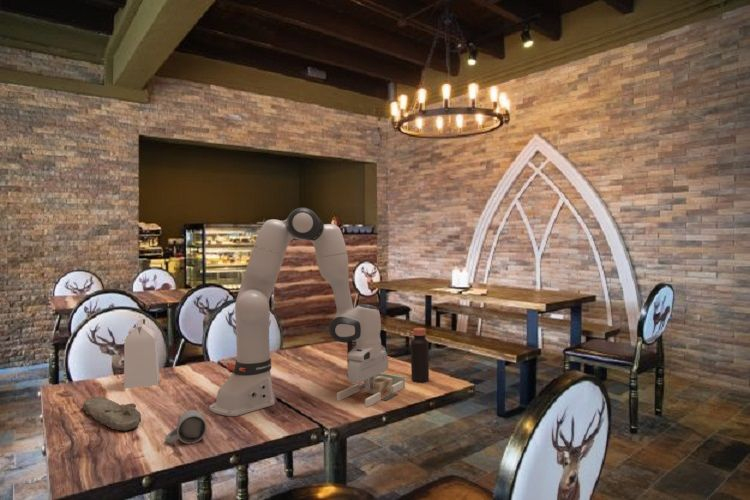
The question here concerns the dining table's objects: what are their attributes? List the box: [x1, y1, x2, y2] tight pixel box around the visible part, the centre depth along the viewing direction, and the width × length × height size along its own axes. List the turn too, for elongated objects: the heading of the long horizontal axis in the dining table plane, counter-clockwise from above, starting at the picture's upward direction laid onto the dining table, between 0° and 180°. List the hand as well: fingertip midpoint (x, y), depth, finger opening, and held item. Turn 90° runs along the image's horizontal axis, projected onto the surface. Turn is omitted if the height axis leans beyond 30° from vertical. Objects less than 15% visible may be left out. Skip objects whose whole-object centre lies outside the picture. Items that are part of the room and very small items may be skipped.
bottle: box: [410, 327, 430, 383], centre depth 186 cm, size 7×7×20 cm
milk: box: [123, 316, 160, 390], centre depth 186 cm, size 12×12×26 cm
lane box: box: [336, 372, 406, 408], centre depth 171 cm, size 24×13×4 cm, turn 146°
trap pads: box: [359, 383, 399, 402], centre depth 173 cm, size 12×17×1 cm
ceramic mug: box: [164, 409, 207, 445], centre depth 135 cm, size 11×8×8 cm
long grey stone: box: [82, 396, 142, 431], centre depth 153 cm, size 35×5×10 cm
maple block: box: [364, 376, 393, 395], centre depth 175 cm, size 9×6×4 cm, turn 146°
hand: (369, 388), depth 170 cm, fingers closed
